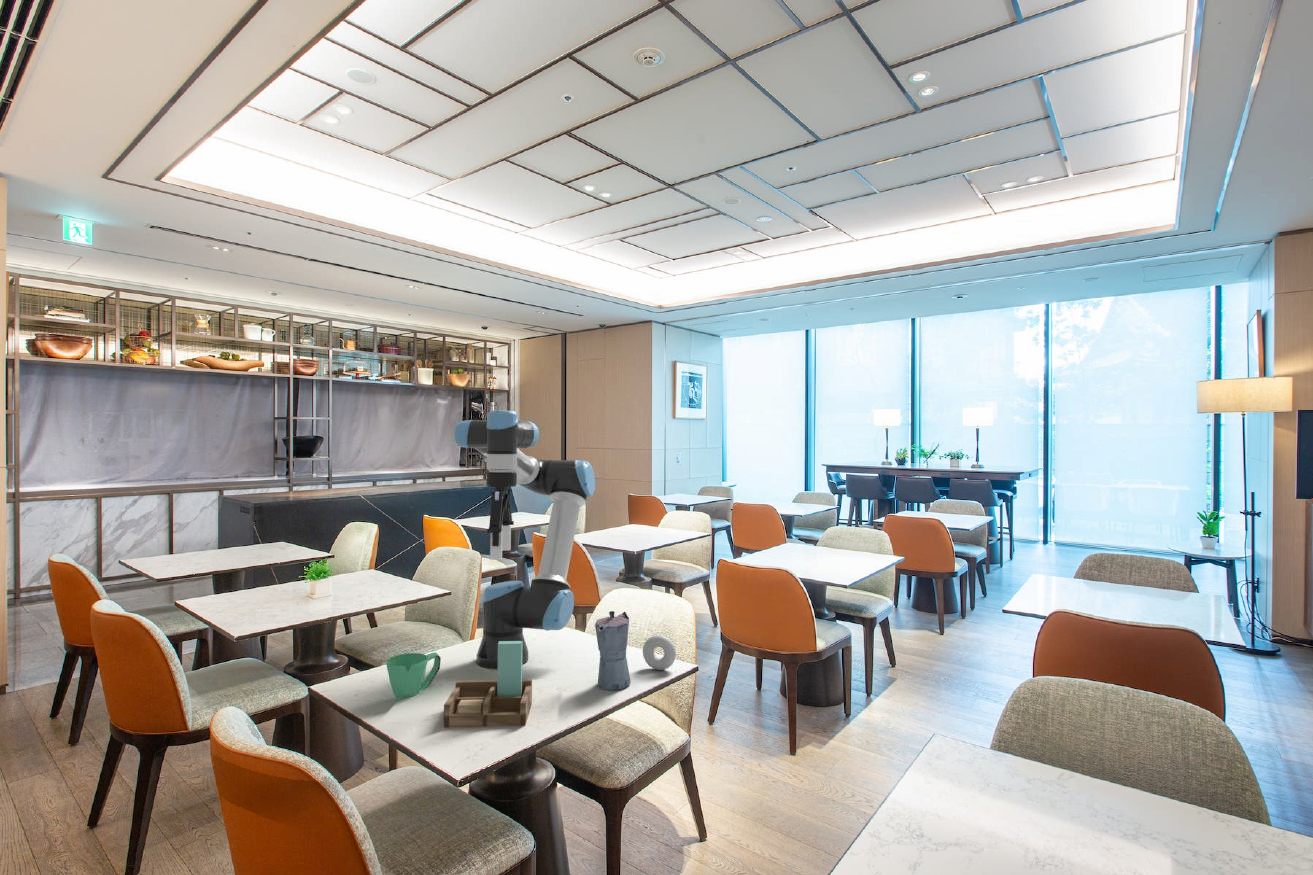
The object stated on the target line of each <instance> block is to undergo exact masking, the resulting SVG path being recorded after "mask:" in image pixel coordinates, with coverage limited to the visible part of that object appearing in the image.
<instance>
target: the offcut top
mask: <svg viewBox="0 0 1313 875" xmlns="http://www.w3.org/2000/svg"><path fill="white" fill-rule="evenodd" d="M483 702H484V700H461V701H460V702H459V704H458V714H464V713H482V711H483Z"/></svg>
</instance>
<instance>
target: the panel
mask: <svg viewBox="0 0 1313 875" xmlns="http://www.w3.org/2000/svg"><path fill="white" fill-rule="evenodd" d="M522 646H523V641H499V643H498V669H497V679H496V680H497V697H500V696H522V680H523V664H522Z"/></svg>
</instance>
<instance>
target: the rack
mask: <svg viewBox="0 0 1313 875" xmlns="http://www.w3.org/2000/svg"><path fill="white" fill-rule="evenodd" d="M461 700H484V702H483V713H464V714H455V713H456V711H457V709H458V704H459V702H460V701H461ZM532 701H533V679H530V678H529V679H522V696H500V697H497V679H490V680H489V679H488V680H485V679H484V680H483V679H482V680H481V679H479V680H477V679H476V680H456V681H455V687H454V689H453V690H452V692H451V693H450V694H449V696H448V697H447V699H446V701H445V703H444V704H443V728H444V729H447V728H479V727H480V728H483V727H484V728H485V727H487V728H488V727H489V728H490V727H519V726H520V727H521V726H522V727H526V724H527V722H528V718H529V715H530V713H531V712H530V711H531V709H532V705H533V702H532Z"/></svg>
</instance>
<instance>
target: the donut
mask: <svg viewBox="0 0 1313 875" xmlns="http://www.w3.org/2000/svg"><path fill="white" fill-rule="evenodd" d="M656 648H661V649H662V650H663V653H664V654H663V656H662V657H658V656H656V654H655V650H656ZM642 657H643V659H644V662H645V663H646V664H647V665H648V666H649V667H650V668H652V669H653V670H656V671H664V670H667V669H670V667H672V665H674V662H675V660H676V657H677V651H676V647H675V644H674V643H673V642H672V640H671V639H670V638H669V637H667V636H665V635H661V634H655V635H652V636H650V637H648V639H646V640H645V642H644V644H643V646H642Z"/></svg>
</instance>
